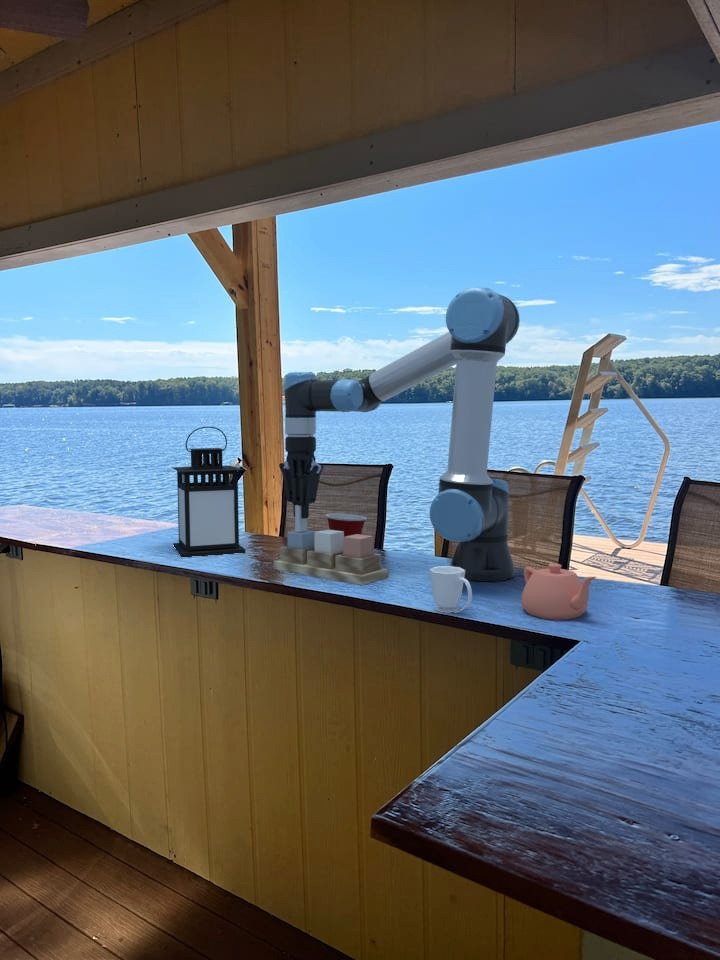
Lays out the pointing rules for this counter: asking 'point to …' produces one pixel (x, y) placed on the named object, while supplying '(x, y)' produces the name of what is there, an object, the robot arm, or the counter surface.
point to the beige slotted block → (331, 565)
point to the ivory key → (329, 541)
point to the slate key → (301, 540)
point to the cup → (449, 588)
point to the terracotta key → (358, 546)
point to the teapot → (555, 593)
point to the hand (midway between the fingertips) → (301, 530)
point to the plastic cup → (346, 523)
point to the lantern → (207, 505)
